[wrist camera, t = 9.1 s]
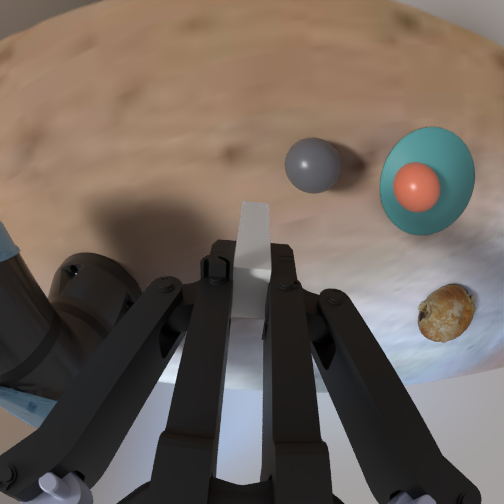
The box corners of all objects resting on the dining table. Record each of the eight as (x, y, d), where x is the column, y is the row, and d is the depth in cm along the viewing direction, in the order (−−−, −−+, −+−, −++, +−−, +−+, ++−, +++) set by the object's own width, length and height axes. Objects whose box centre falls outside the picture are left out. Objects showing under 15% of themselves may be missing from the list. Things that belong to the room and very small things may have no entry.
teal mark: (422, 252, 37) (423, 253, 37) (356, 188, 33) (356, 189, 32) (488, 181, 31) (489, 182, 30) (433, 102, 26) (433, 102, 26)
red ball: (391, 220, 30) (409, 210, 33) (438, 214, 26) (449, 204, 29) (379, 169, 29) (398, 165, 33) (425, 158, 25) (438, 156, 28)
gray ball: (297, 209, 28) (305, 192, 33) (351, 186, 26) (350, 172, 31) (268, 157, 27) (280, 148, 32) (323, 131, 24) (326, 126, 29)
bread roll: (424, 270, 43) (422, 304, 37) (480, 278, 38) (486, 312, 32) (414, 315, 48) (409, 349, 42) (465, 322, 43) (466, 357, 38)
